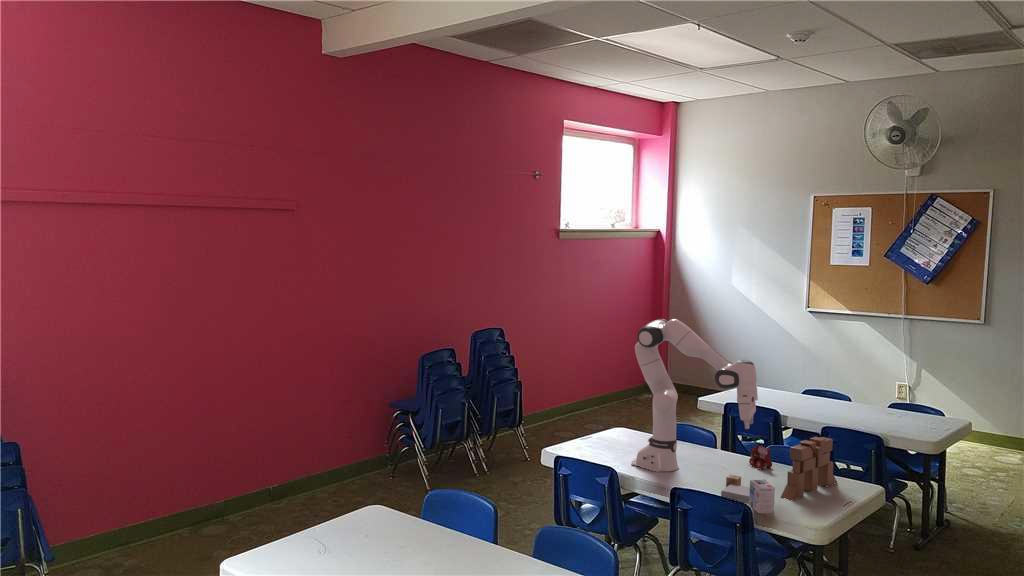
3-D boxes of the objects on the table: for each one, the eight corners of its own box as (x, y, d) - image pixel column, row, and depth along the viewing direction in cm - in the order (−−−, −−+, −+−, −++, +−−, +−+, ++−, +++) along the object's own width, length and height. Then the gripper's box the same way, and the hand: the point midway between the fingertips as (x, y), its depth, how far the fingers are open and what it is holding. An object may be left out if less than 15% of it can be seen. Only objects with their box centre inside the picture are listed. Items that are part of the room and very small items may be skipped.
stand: (721, 496, 340) (721, 490, 339) (731, 489, 349) (731, 483, 349) (748, 502, 333) (748, 496, 333) (757, 494, 342) (758, 489, 342)
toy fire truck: (757, 462, 392) (758, 442, 391) (774, 469, 380) (775, 448, 380) (746, 463, 389) (746, 443, 389) (762, 471, 378) (763, 449, 377)
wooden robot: (822, 479, 367) (824, 431, 365) (840, 483, 360) (842, 434, 359) (778, 497, 340) (780, 445, 339) (796, 502, 334) (798, 449, 332)
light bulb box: (748, 504, 330) (749, 479, 329) (764, 504, 330) (764, 479, 329) (758, 513, 319) (759, 487, 318) (774, 513, 320) (775, 487, 319)
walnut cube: (726, 488, 351) (726, 477, 351) (729, 485, 355) (730, 474, 355) (736, 490, 348) (737, 479, 348) (740, 487, 352) (741, 476, 352)
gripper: (744, 391, 365) (745, 420, 366) (736, 400, 347) (737, 431, 347) (758, 391, 362) (760, 421, 363) (750, 400, 344) (752, 431, 345)
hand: (749, 426), depth 355 cm, fingers open, 8 cm apart
